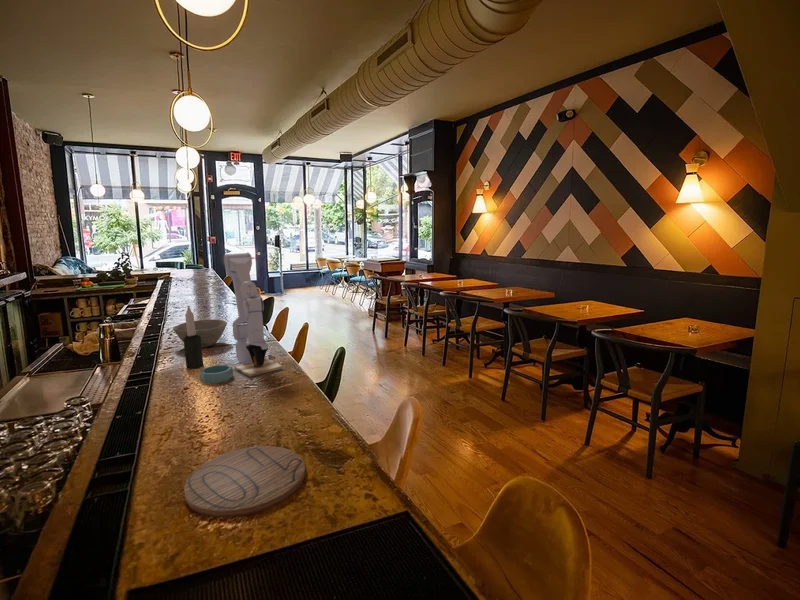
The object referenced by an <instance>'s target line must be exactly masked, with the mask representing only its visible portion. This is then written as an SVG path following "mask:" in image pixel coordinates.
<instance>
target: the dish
mask: <svg viewBox="0 0 800 600" xmlns="http://www.w3.org/2000/svg"><path fill="white" fill-rule="evenodd" d="M233 372H234V371H233V367H232V366H231V365H229V364H215V365H211V366H207V367H204V368H202V369H201V370H199V376H200V382H202V383H204V384H218V383H219V384H220V383H224V382H227V381H229V380H230V379H232V378H233V377H234V373H233Z"/></svg>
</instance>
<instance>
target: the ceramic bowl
mask: <svg viewBox="0 0 800 600" xmlns="http://www.w3.org/2000/svg"><path fill="white" fill-rule="evenodd" d="M194 323H195V332H196V334H198V335H200V337H201V346H202V348H207V347H208V346H209V347H211V346H213V345H215V344H217V342H218V341H219V340H220V338H221V337H222V335H223V334H224V331H225V330H226V328H227V325H228V321H226V320H222V319H201V320H194ZM172 330H173V332H175V335H176V336H177V337H178V339H179V340H180V341H181V342H182V343H184V341H183V338H184V337H185V335H187V326H186V322H183V323H180V324H177V325H175V326H173V328H172Z"/></svg>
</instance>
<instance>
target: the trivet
mask: <svg viewBox="0 0 800 600" xmlns="http://www.w3.org/2000/svg"><path fill="white" fill-rule="evenodd" d="M305 477H306V469H305V461H304V460H303V458H302V456H301V455H300V454H298V453H297V452H296V451H294V450H291V449H288V448H287V447H286V448H285V447H280V446H274V445H258V446H249V447H243V448H239V449H235V450H232V451H228V452H225V453H223V454H219V455H218V456H216V457H214V458H211V459H209V460H208V461H206V462H204V463H203V464H201V465H200V466H198V468H195V470H193V471H192V473H191V474H190V475H188V477H187V479H186V481H185V484H184V486H183V489H184V499H185V503H186V505H188V507H189V509H190V510H192V511H194V512H196V513H198V514H200V515H202V516H207V517H212V518H236V517H237V518H238V517H243V516H244V517H245V516H249V515H252V514H255V513H260V512H263V511H266V510H269V509H271V508H272V507H274V506H276V505H278V504H281V503H283V502H284V501H285V500H287V499H288V498H289V497H291V496H292V495H294V494H295V493H296V492H297V491H298V489H299V488H301V486H302V485H303V482H304V479H305Z"/></svg>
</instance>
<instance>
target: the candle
mask: <svg viewBox="0 0 800 600" xmlns="http://www.w3.org/2000/svg"><path fill="white" fill-rule="evenodd" d="M186 307H187V310H186V313H184V314H185V315H184V316H185V317H184V318H185V323H186V326H187V335H185V337H184V338H183V341H184V342H183V341H182V342H183V347H184V348H183V350H184V357H185V367H186V370H190V369H191V370H198V369H200V368H202V367H203V366H204V358H203V357H204V356H203V351H202V350H203V347H202V346H201V337H200V335H198V334H196V332H195V323H194V321H195V315H194V312H192V310H191V308H190V305H187V306H186Z"/></svg>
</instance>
